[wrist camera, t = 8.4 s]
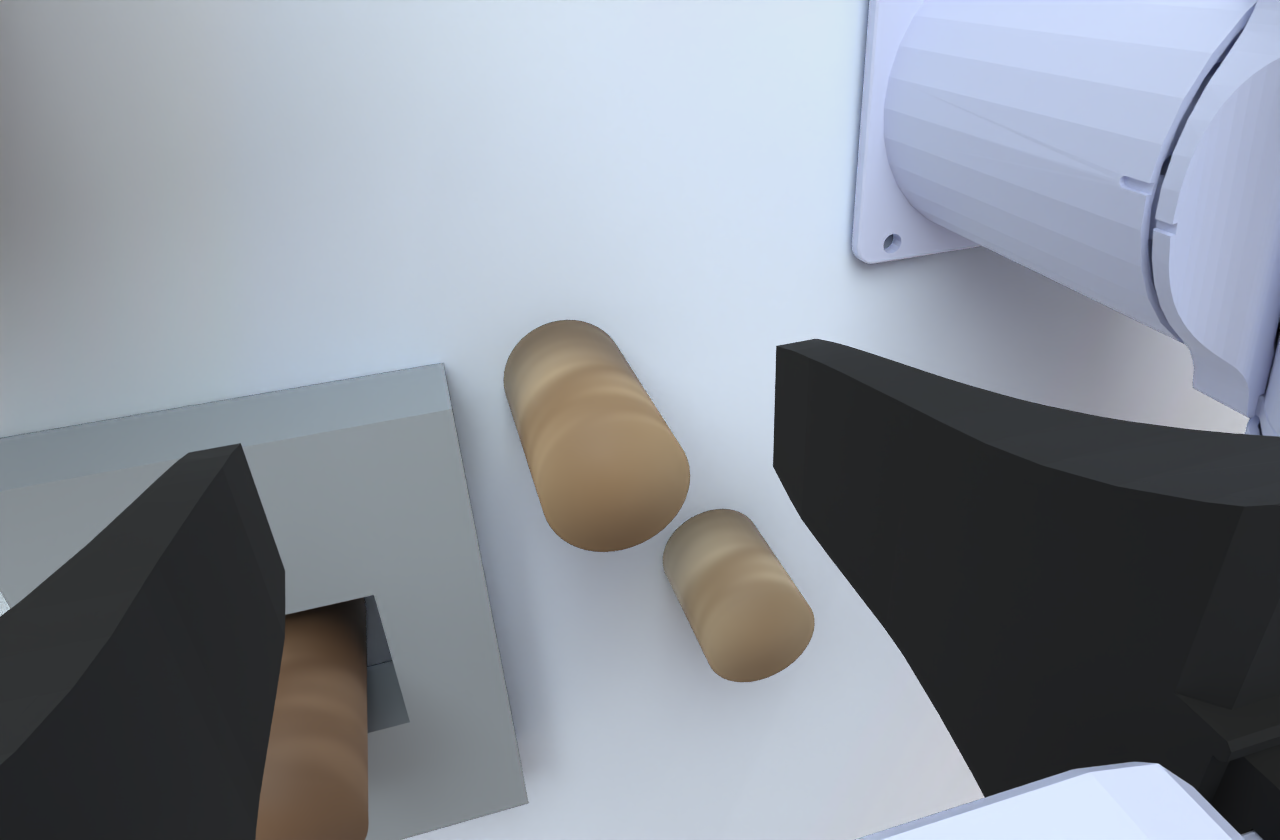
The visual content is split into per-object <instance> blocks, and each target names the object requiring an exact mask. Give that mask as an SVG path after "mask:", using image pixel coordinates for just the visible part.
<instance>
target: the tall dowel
mask: <svg viewBox="0 0 1280 840" xmlns="http://www.w3.org/2000/svg"><path fill="white" fill-rule="evenodd" d="M368 825H369V817H368V726H367V635H366V604H365V600H364V597H362V598H358V599H353V600H349V601H344V602H340V603H336V604H331V605H327V606H322V607H318V608H313V609H309V610H304V611H300V612H295V613H291V614H286V615H285V640H284V647H283V654H282V661H281V667H280V674H279V681H278V687H277V694H276V700H275V706H274V712H273V718H272V724H271V731H270V737H269V743H268V749H267V755H266V762H265V768H264V774H263V780H262V786H261V793H260V800H259V809H258V818H257V827H256V840H365V839H366V836H367V833H368Z"/></svg>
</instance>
